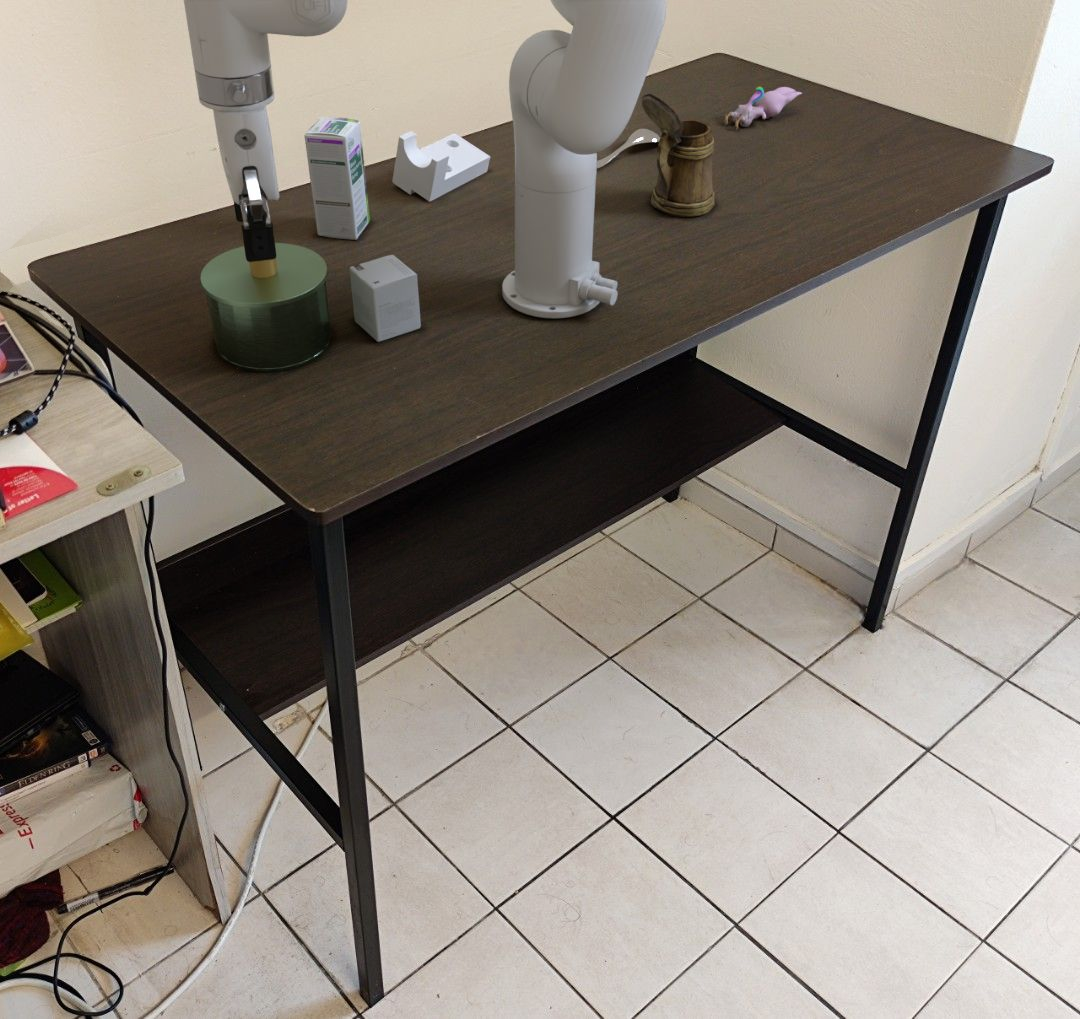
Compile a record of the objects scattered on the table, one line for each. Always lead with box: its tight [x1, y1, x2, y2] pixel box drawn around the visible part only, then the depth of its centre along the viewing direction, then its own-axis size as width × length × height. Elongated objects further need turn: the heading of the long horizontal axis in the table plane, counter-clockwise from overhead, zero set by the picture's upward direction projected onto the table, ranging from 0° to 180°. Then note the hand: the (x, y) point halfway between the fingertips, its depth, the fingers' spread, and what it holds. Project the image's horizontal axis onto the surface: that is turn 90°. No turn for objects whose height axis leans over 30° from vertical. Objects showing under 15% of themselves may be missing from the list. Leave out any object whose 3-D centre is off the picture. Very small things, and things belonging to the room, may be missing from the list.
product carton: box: [348, 254, 422, 343], centre depth 140 cm, size 6×6×7 cm
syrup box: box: [304, 116, 371, 241], centre depth 157 cm, size 6×6×14 cm
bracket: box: [391, 130, 491, 203], centre depth 171 cm, size 13×7×8 cm, turn 143°
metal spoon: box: [597, 128, 661, 170], centre depth 179 cm, size 20×4×5 cm
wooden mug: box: [641, 93, 716, 218], centre depth 162 cm, size 9×14×18 cm, turn 134°
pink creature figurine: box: [723, 86, 803, 131], centre depth 192 cm, size 6×6×15 cm
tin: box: [205, 280, 332, 373], centre depth 137 cm, size 13×13×8 cm
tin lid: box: [199, 242, 329, 308], centre depth 132 cm, size 14×14×6 cm
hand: (256, 239), depth 131 cm, fingers open, 9 cm apart
